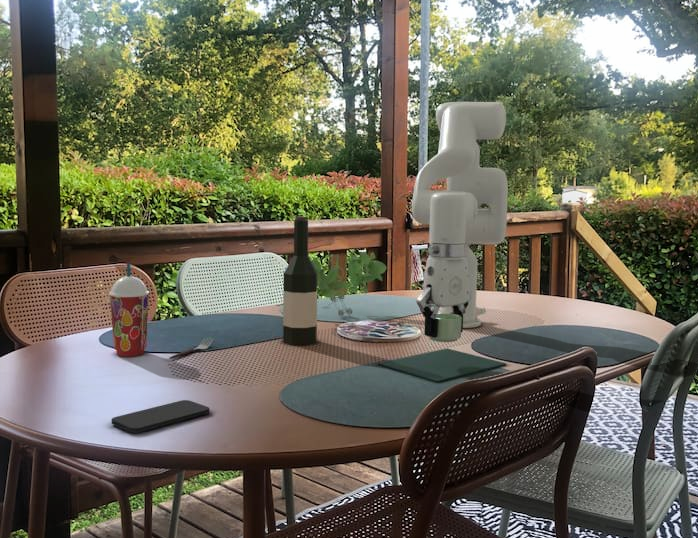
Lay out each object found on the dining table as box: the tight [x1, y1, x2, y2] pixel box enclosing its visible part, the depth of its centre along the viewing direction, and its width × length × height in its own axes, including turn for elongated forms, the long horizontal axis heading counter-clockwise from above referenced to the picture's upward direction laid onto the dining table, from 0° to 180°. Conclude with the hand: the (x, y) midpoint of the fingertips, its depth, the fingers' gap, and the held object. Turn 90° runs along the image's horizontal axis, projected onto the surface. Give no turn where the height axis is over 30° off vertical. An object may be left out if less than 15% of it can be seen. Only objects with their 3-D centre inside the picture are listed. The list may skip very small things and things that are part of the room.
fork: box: [169, 336, 215, 360], centre depth 168 cm, size 3×16×2 cm, turn 159°
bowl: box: [426, 312, 462, 343], centre depth 160 cm, size 7×7×5 cm
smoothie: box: [108, 263, 150, 357], centre depth 165 cm, size 8×8×20 cm
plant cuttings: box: [276, 251, 387, 319], centre depth 213 cm, size 35×17×22 cm
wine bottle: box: [282, 215, 318, 346], centre depth 179 cm, size 8×8×30 cm
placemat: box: [377, 348, 507, 383], centre depth 162 cm, size 22×17×1 cm
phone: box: [111, 399, 210, 433], centre depth 123 cm, size 7×1×15 cm
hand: (443, 333), depth 161 cm, fingers closed on bowl, 7 cm apart
